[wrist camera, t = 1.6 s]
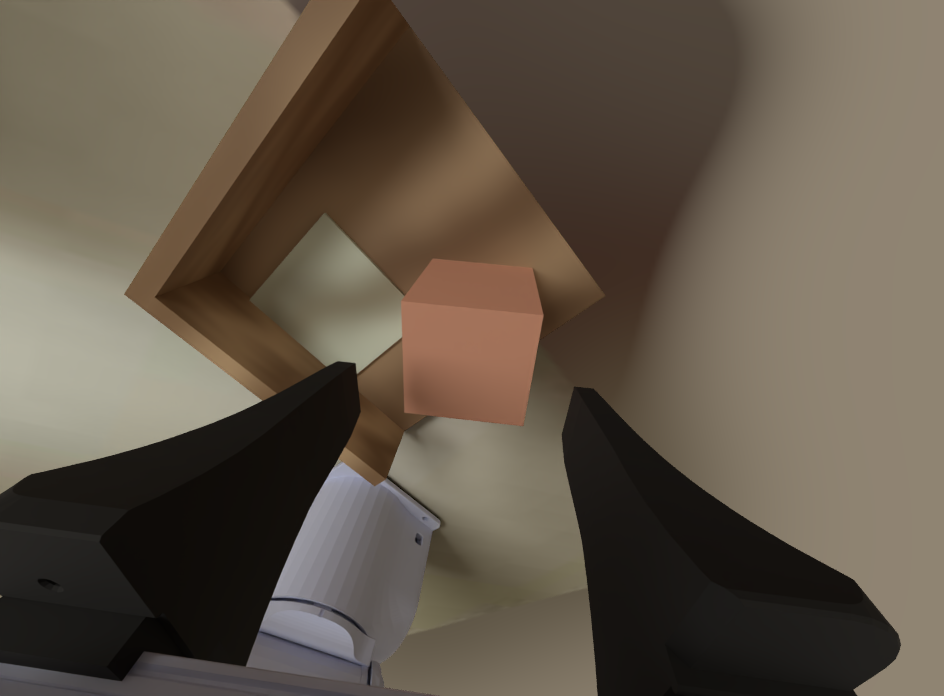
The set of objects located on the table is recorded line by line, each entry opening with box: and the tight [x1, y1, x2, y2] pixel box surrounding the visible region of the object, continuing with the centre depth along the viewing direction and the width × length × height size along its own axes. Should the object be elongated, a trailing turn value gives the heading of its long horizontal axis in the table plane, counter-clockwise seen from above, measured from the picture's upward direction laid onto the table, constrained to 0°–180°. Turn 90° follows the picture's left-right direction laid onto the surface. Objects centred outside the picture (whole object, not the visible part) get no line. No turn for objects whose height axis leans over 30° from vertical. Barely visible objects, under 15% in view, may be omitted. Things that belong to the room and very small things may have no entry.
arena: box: [124, 0, 605, 486], centre depth 17 cm, size 15×16×5 cm
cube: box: [401, 259, 544, 426], centre depth 16 cm, size 5×5×6 cm
